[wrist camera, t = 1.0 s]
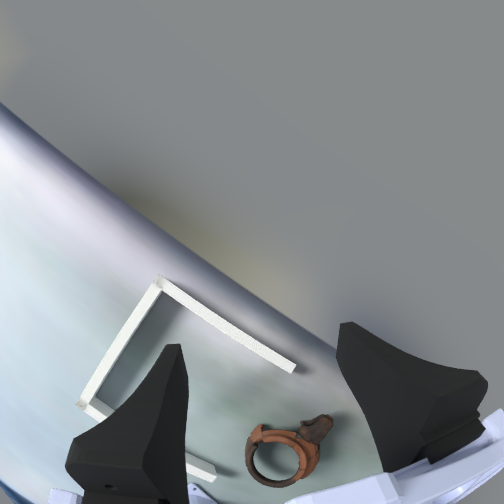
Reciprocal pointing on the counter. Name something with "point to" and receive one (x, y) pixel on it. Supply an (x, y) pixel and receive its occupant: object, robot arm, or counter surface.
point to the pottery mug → (304, 447)
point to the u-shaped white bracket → (158, 286)
